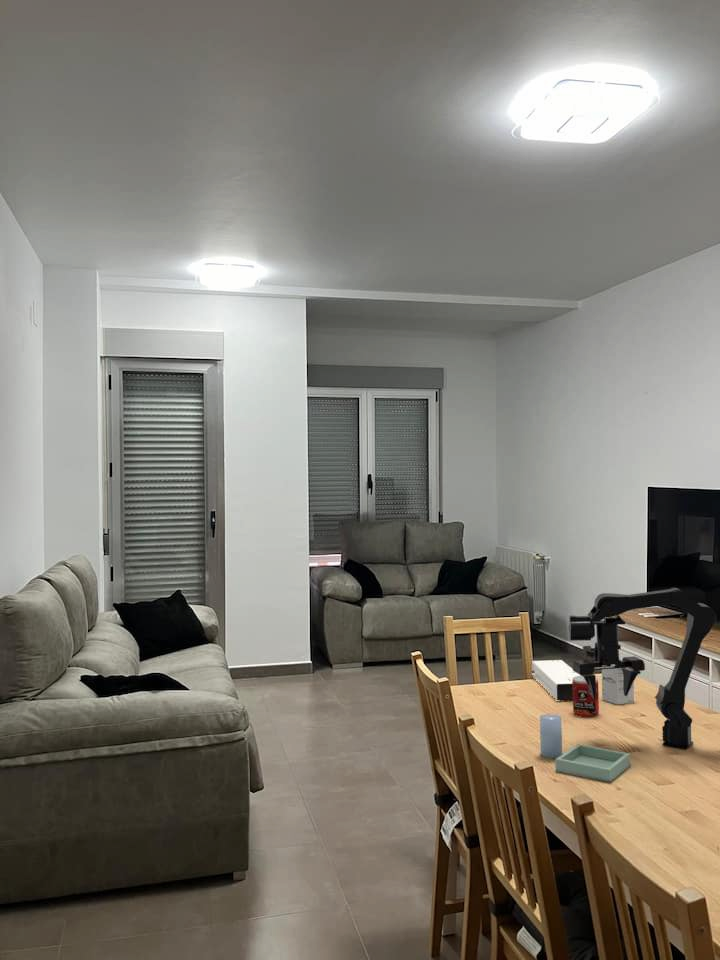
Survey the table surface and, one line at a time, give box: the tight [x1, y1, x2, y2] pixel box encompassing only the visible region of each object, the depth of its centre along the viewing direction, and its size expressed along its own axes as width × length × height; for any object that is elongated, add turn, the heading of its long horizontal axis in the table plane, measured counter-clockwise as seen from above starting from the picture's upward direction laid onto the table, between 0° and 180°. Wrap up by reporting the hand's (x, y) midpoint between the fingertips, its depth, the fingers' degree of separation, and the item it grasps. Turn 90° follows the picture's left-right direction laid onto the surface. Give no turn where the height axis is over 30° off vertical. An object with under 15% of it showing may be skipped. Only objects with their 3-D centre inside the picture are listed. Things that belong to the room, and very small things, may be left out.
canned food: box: [572, 676, 600, 718], centre depth 258 cm, size 8×8×11 cm
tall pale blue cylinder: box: [539, 713, 563, 759], centre depth 222 cm, size 6×6×10 cm
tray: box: [554, 743, 631, 783], centre depth 211 cm, size 14×14×3 cm
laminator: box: [531, 659, 581, 701], centre depth 289 cm, size 34×12×6 cm, turn 2°
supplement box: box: [601, 665, 635, 706], centre depth 271 cm, size 7×7×13 cm
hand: (609, 696), depth 230 cm, fingers open, 9 cm apart
